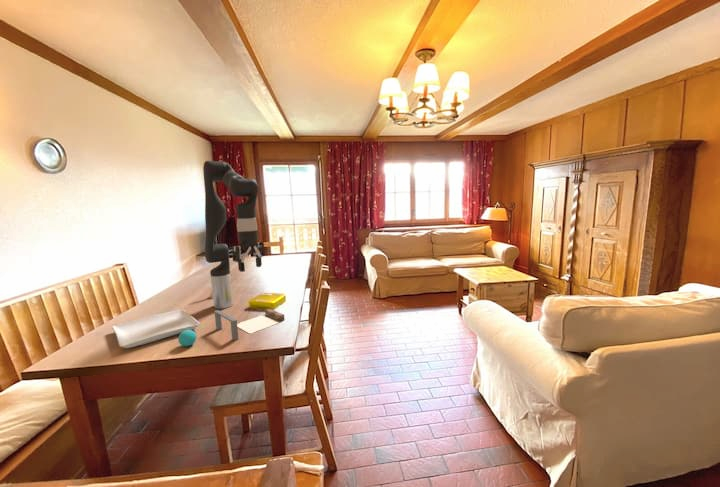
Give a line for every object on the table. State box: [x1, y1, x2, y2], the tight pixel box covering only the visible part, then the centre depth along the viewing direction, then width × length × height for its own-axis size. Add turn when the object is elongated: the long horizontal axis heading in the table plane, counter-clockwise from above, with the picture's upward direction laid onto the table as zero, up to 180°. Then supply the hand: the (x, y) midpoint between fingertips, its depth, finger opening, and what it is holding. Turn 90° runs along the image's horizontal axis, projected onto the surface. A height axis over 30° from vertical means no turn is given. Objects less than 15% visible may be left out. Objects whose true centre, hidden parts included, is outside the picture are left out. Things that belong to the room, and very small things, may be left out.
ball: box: [177, 329, 197, 347], centre depth 111 cm, size 6×6×6 cm
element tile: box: [247, 292, 287, 311], centre depth 155 cm, size 15×15×5 cm
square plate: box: [111, 308, 201, 349], centre depth 125 cm, size 27×27×4 cm
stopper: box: [264, 309, 285, 322], centre depth 137 cm, size 13×2×2 cm, turn 49°
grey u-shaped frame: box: [214, 309, 239, 341], centre depth 120 cm, size 17×2×8 cm, turn 49°
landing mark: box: [237, 314, 280, 335], centre depth 130 cm, size 14×14×1 cm
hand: (250, 269), depth 118 cm, fingers open, 8 cm apart
